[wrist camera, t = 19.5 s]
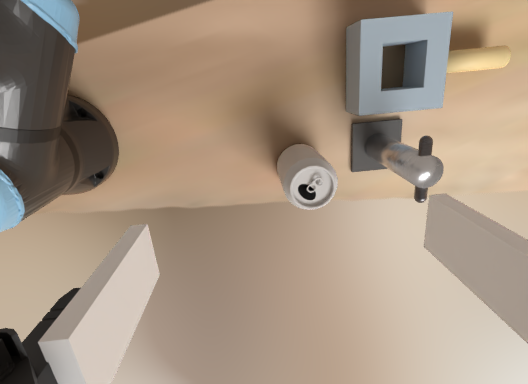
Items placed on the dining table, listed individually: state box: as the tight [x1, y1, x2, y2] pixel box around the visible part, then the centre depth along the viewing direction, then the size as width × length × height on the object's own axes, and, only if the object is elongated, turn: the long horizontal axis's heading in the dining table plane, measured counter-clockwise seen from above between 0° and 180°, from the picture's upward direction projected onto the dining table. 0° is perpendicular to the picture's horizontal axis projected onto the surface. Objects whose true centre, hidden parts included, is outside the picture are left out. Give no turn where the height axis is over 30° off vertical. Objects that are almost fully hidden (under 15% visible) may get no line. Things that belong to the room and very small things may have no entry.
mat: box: [351, 119, 402, 172], centre depth 51 cm, size 8×8×1 cm
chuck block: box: [346, 12, 511, 116], centre depth 44 cm, size 22×12×6 cm, turn 95°
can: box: [277, 144, 338, 209], centre depth 46 cm, size 8×8×12 cm
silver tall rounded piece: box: [365, 134, 443, 203], centre depth 43 cm, size 4×8×15 cm, turn 5°
